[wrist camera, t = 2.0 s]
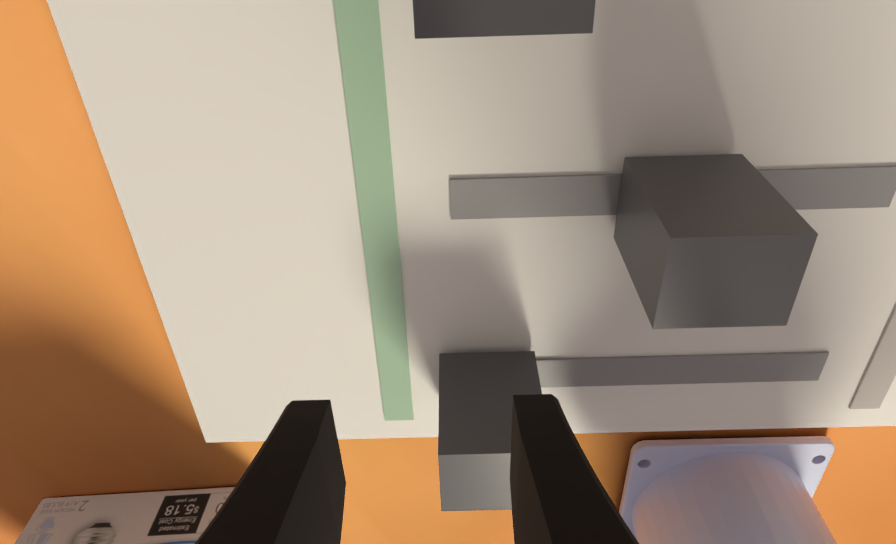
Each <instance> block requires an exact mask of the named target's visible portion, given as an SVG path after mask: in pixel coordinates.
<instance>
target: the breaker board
mask: <svg viewBox="0 0 896 544" xmlns="http://www.w3.org/2000/svg"><path fill="white" fill-rule="evenodd" d="M47 3H48V5H49V8H50V11H51V14H52V17H53V19H54V22H55V25H56V28H57V30H58V33H59V36H60V39H61V41H62V44H63V47H64V50H65V53H66V55H67V58H68V61H69V64H70V66H71V69H72V72H73V75H74V78H75V80H76V83H77V86H78V89H79V91H80V94H81V97H82V100H83V103H84V105H85V108H86V111H87V114H88V116H89V119H90V122H91V125H92V128H93V130H94V133H95V136H96V139H97V141H98V144H99V147H100V150H101V153H102V155H103V158H104V161H105V164H106V166H107V169H108V172H109V175H110V178H111V180H112V183H113V186H114V189H115V191H116V194H117V197H118V200H119V203H120V205H121V208H122V211H123V214H124V216H125V219H126V222H127V225H128V228H129V230H130V233H131V236H132V239H133V241H134V244H135V247H136V250H137V252H138V255H139V258H140V261H141V264H142V266H143V269H144V272H145V275H146V277H147V280H148V283H149V286H150V289H151V291H152V294H153V297H154V300H155V302H156V305H157V308H158V311H159V314H160V316H161V319H162V322H163V325H164V327H165V330H166V333H167V336H168V339H169V341H170V344H171V347H172V350H173V352H174V355H175V358H176V361H177V364H178V366H179V369H180V372H181V375H182V377H183V380H184V383H185V386H186V389H187V391H188V394H189V397H190V400H191V402H192V405H193V408H194V411H195V414H196V416H197V419H198V422H199V425H200V427H201V430H202V433H203V436H204V438H205V441H206V443H207V442H248V441H265V440H266V439H267V437H268V436H269V434H270V432H271V431H272V429H273V427H274V426H275V424H276V422H277V421H278V419H279V417H280V416H281V414H282V412H283V411H284V409H285V407H286V406H287V405H288V404H289V403H290V402H291V401H295V400H330V401H331V406H332V412H333V417H334V422H335V428H336V433H337V438H338V439H370V438H411V437H438V433H439V353H473V352H511V351H535V357H536V362H537V368H538V374H539V379H540V385H541V390H542V394H552V395H554V396H555V397H556V398H557V399H558V400H559V403H560V405H561V408H562V410H563V412H564V414H565V417H566V419H567V421H568V423H569V425H570V427H571V429H572V431H573V433H614V432H655V431H696V430H737V429H777V428H818V427H859V426H896V0H596V2H595V12H594V23H593V33H583V34H552V35H520V36H488V37H457V38H425V39H415V34H414V16H413V0H47ZM719 154H743V155H744V156H745V157H746V159H747V160H748V161H749V162H750V163H751V164H752V165H753V166H754V167H755V168H756V169H757V170H758V171H759V172H760V173H761V174H762V175H763V176H764V177H765V179H766V180H767V181H768V182H769V183H770V184H771V185H772V186H773V187H774V188H775V189H776V190H777V191H778V192H779V193H780V194H781V195H782V196H783V197H784V199H785V200H786V201H787V202H788V203H789V204H790V205H791V206H792V207H793V208H794V209H795V210H796V211H797V212H798V213H799V214H800V215H801V216H802V217H803V219H804V220H805V221H806V222H807V223H808V224H809V225H810V226H811V227H812V228H813V229H814V230H815V231H816V232H817V233H818V236H817V239H816V242H815V245H814V247H813V250H812V253H811V256H810V259H809V262H808V265H807V268H806V270H805V273H804V276H803V279H802V282H801V285H800V288H799V291H798V294H797V296H796V299H795V302H794V305H793V308H792V311H791V314H790V317H789V319H788V322H787V325H786V326H751V327H713V328H675V329H653V328H652V326H651V324H650V321H649V319H648V317H647V314H646V312H645V310H644V307H643V305H642V303H641V300H640V298H639V296H638V293H637V291H636V289H635V286H634V284H633V282H632V279H631V277H630V275H629V272H628V270H627V268H626V265H625V263H624V261H623V258H622V256H621V254H620V251H619V249H618V247H617V244H616V242H615V240H614V230H615V223H616V216H617V209H618V201H619V194H620V187H621V179H622V172H623V165H624V158H625V157H650V156H685V155H719Z"/></svg>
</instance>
